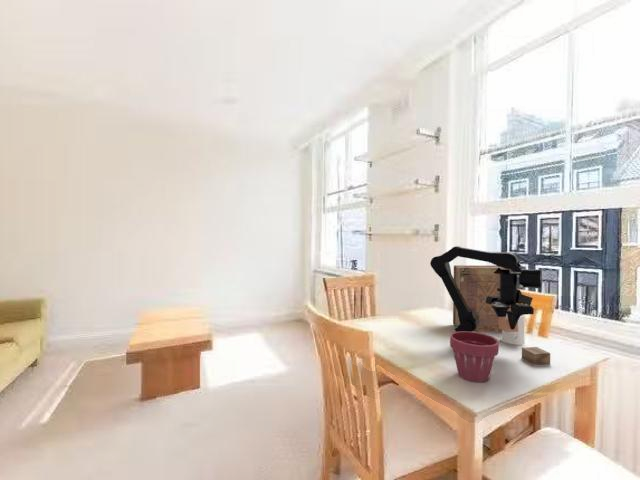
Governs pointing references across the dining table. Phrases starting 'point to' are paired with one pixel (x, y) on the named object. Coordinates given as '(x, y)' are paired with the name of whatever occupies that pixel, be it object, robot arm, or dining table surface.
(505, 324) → the cube
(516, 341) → the mug
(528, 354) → the base block
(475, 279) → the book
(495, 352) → the plant pot
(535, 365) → the gray square frame
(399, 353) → the dining table surface
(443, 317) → the dining table surface
